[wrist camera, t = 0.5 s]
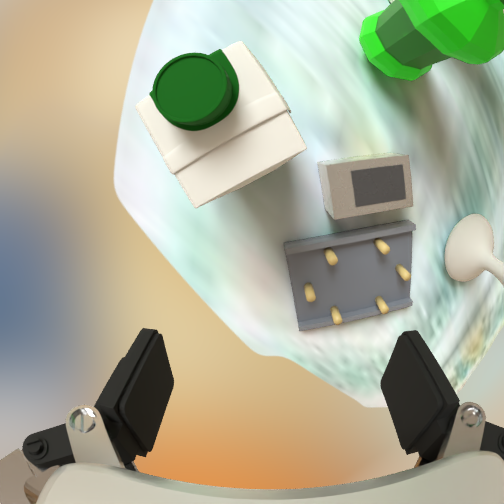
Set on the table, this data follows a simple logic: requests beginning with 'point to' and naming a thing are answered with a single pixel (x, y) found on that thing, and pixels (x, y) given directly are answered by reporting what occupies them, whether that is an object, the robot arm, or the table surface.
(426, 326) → the table surface
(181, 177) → the milk carton
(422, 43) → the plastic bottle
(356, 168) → the block
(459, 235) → the flower in vase
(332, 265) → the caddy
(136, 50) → the table surface
